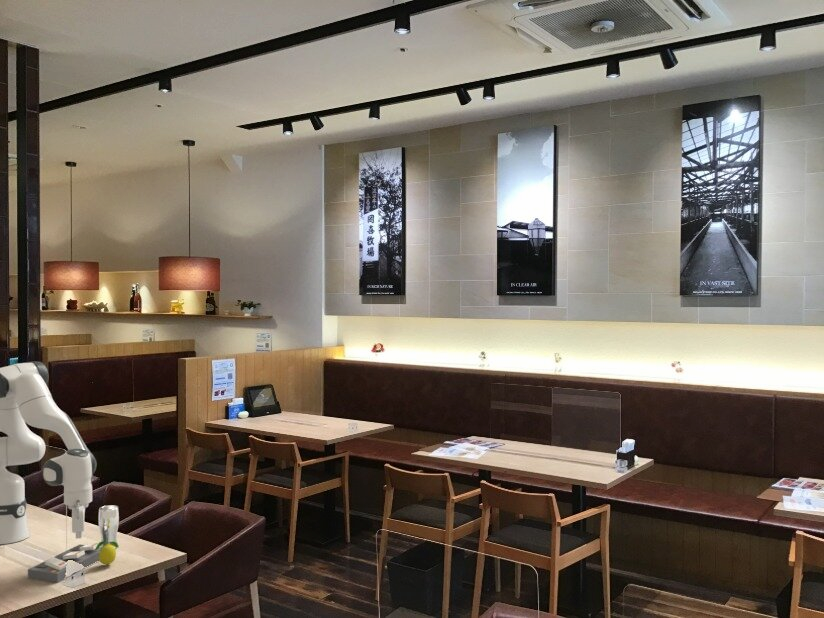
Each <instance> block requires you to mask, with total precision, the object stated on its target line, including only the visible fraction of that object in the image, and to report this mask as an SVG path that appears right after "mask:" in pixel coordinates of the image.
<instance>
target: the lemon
mask: <svg viewBox="0 0 824 618" xmlns="http://www.w3.org/2000/svg"><path fill="white" fill-rule="evenodd" d="M104 542H105V541H101V540H100V541H99V542H98V543H99V544H98V545H97V547H96V549H95V550H97V549H98V548H99V547H100V546H101V545H102V544H103V543H104ZM109 543H110V544H108V537H107V544H106V545H104V546H103V547H102V548H101V549H100V552H99V561H98V562H100V563H101V564H102V565H105V566H107V565H108V566H109V565H110V564H112V563H114V561H115V560H116V556H117V550H116V549H119V544H118V542H117V543H116V542H114V541H113V542H109ZM112 545H113V546H112ZM114 547H117V548H116V549H115V548H114Z"/></svg>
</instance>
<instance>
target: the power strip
mask: <svg viewBox="0 0 824 618" xmlns="http://www.w3.org/2000/svg"><path fill="white" fill-rule="evenodd" d="M84 545H85V544H77V545H75V546H73V547H72V548H69V549H67V550H65V551H63V552H61V553H59V554H57V555H55V556H54V557H55V558H57V559H60V560H62V561H64V562H67V561H68V560H73V561H75V562H77V563H79V564H82V565H83V566H84V567H87V566H88V567H90V566H92V565H94V564H96V563H97V561H98V562H100V561H99V552H100V549H101V548H102V547H99V548H98V549H97V550H95V549H93V550H86V551H85V554H84V555H82V556H80V557H78V558H72V559H64V560H63V556H64V555H66V554H68V553H70V552H77V551H80V547H82V546H84ZM51 558H52V557H50V558H49V559H51ZM49 559H47V560H49ZM47 560H45V561H43V562H40V563H37V564H36V565H34V566H32V567H30V568H28V569H27V578H28V579H29V580H37V581H44V582H49V583H57V584H58V583H60V582H62V581H64V580H65V579H64V578H65V573H66V567H65V568H63V569H61V570H57V569H55V568H53V567H50V566H48V565H45V562H46V561H47ZM95 562H96V563H95ZM93 563H94V564H93ZM91 564H92V565H91ZM89 565H90V566H89ZM88 567H87V568H88Z"/></svg>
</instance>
